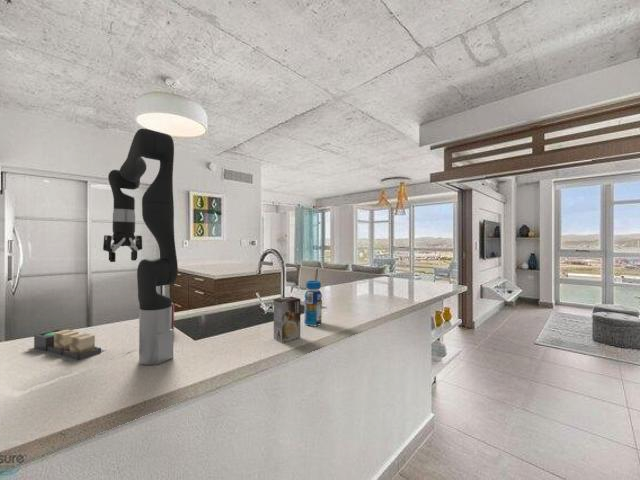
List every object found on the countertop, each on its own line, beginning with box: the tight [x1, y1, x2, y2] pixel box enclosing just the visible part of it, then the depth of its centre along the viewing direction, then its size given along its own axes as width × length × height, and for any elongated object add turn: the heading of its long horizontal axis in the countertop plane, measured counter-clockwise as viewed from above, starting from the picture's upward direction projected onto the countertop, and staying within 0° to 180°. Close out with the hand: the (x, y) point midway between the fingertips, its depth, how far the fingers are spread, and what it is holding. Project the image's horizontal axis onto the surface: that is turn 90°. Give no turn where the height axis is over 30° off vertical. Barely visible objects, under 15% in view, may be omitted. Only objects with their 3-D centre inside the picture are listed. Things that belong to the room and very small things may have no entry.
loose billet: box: [70, 332, 96, 354], centre depth 96 cm, size 6×4×6 cm, turn 68°
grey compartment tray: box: [27, 328, 107, 363], centre depth 99 cm, size 25×10×6 cm, turn 68°
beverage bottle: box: [303, 280, 323, 327], centre depth 136 cm, size 8×8×20 cm
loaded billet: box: [54, 329, 79, 350], centre depth 99 cm, size 6×4×6 cm, turn 68°
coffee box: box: [273, 296, 301, 343], centre depth 116 cm, size 9×6×16 cm
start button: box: [44, 332, 55, 337], centre depth 102 cm, size 4×4×3 cm
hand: (123, 261), depth 116 cm, fingers open, 8 cm apart
